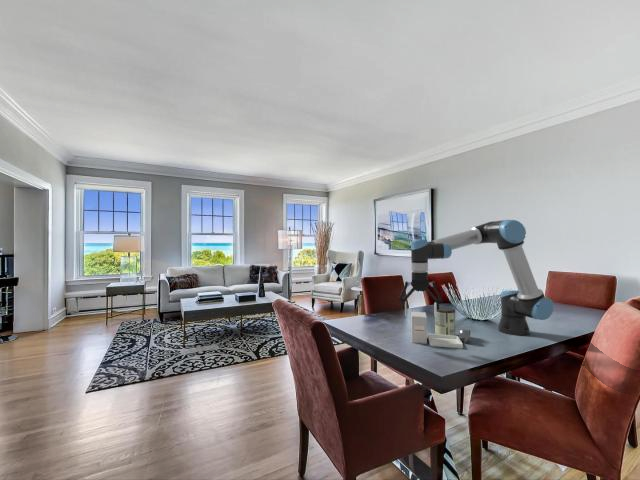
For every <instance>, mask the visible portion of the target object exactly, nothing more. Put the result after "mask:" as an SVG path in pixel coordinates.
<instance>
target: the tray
mask: <svg viewBox="0 0 640 480" xmlns="http://www.w3.org/2000/svg"><path fill="white" fill-rule="evenodd" d="M427 341H428V344H429V347H434V348H435V347H437V348H438V347H439V348H451V349H464V344H463V343H462V342H461V340H460V339H459V335H456V334H455V335H441V334H435V333H427Z"/></svg>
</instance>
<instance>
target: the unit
mask: <svg viewBox="0 0 640 480" xmlns="http://www.w3.org/2000/svg"><path fill="white" fill-rule="evenodd" d="M410 317H411V318H410V319H411V321H410V323H411V329H410V331H411V332H410V333H411V344H413V343H414V344H425V345H427V344H428V323H427V322H428V320H427V319H428V317H427V313H426V312H425V311H424V312H420V311H411V315H410Z"/></svg>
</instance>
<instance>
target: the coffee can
mask: <svg viewBox="0 0 640 480" xmlns="http://www.w3.org/2000/svg"><path fill="white" fill-rule="evenodd" d="M434 329H435V331H434V332H435V333H434V334H441V335H455V336H456V309H455V308H452V307H448V306H447V307H446V306H445V307H444V306H441V307H440V306H439V310H437V317H435V316H434Z"/></svg>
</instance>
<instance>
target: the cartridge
mask: <svg viewBox="0 0 640 480" xmlns="http://www.w3.org/2000/svg"><path fill="white" fill-rule="evenodd" d="M458 330H459V334H458V337H459V339H460V340H461V342H462V344H463V345H469V344H471V330H470V329H468V328H467V329H466V328H460V329H458Z"/></svg>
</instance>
